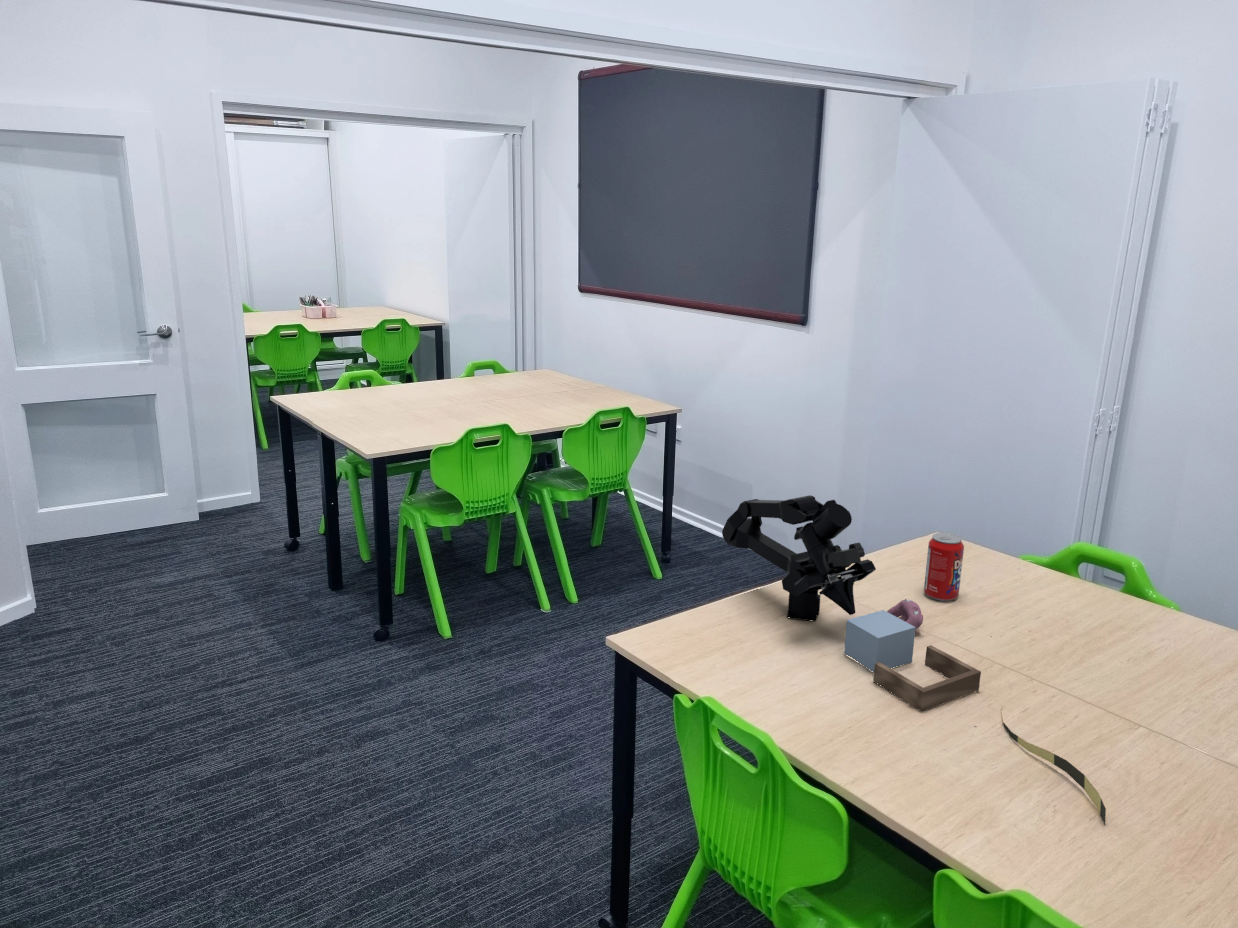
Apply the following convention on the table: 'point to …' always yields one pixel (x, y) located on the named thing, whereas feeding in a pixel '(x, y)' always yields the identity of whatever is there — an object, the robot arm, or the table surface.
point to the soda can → (944, 567)
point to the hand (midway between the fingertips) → (852, 613)
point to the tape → (1065, 767)
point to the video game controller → (908, 612)
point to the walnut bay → (956, 686)
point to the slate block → (879, 640)
